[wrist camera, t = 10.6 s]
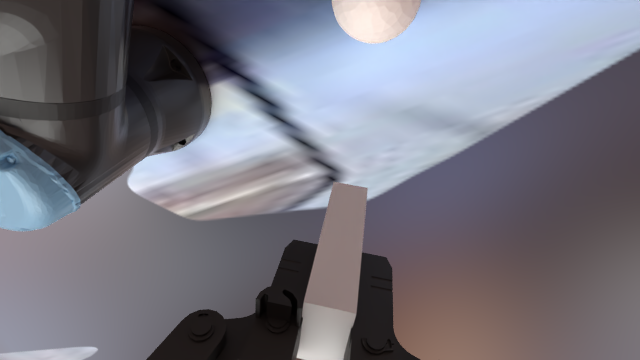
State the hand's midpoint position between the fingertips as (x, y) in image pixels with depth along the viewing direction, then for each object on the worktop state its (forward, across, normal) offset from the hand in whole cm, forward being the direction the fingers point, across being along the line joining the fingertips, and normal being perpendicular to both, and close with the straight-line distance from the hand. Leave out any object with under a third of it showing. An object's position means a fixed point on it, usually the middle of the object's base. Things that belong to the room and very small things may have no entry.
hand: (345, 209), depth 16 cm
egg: (+26, 0, +8) cm, 27 cm away
